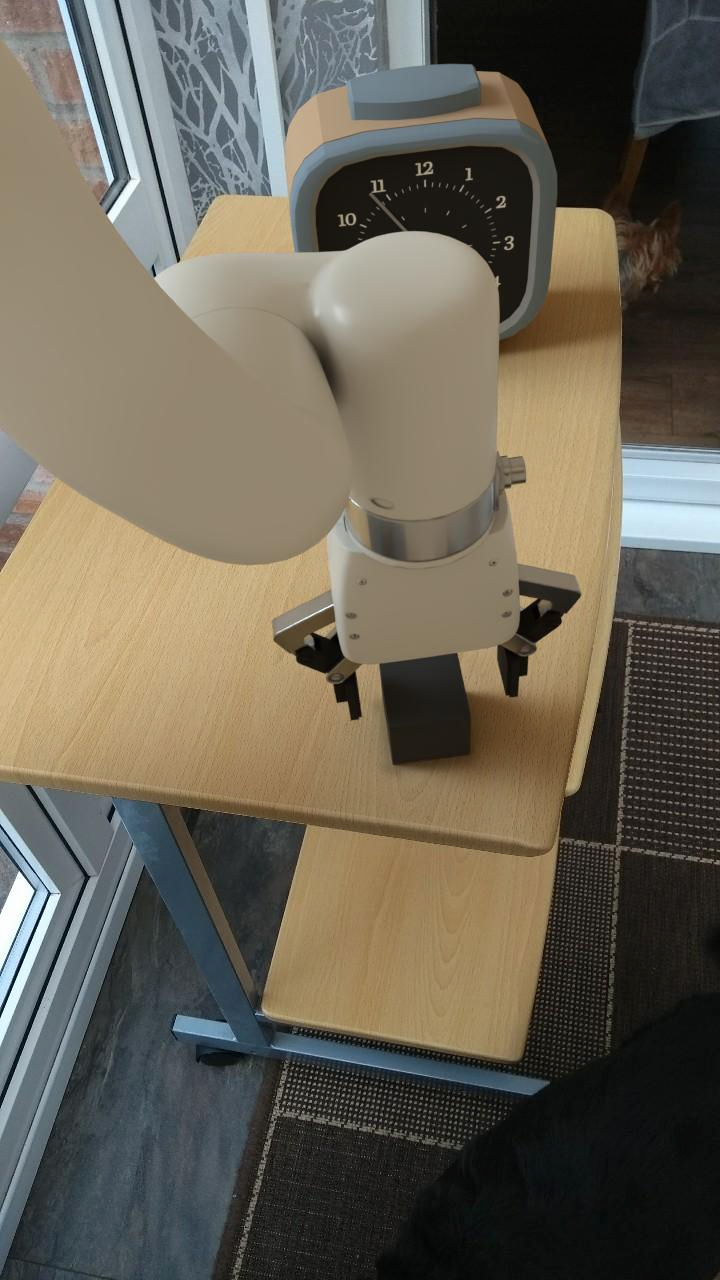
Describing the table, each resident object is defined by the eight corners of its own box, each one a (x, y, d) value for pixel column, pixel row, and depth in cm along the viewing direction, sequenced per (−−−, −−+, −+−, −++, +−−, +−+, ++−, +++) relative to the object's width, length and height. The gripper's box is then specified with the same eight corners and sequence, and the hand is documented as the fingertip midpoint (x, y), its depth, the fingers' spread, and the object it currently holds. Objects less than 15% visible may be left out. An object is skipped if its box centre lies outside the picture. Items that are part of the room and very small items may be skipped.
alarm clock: (312, 380, 89) (278, 133, 72) (305, 315, 95) (272, 72, 78) (545, 352, 89) (567, 98, 72) (524, 289, 95) (540, 40, 78)
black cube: (392, 765, 65) (389, 727, 61) (382, 700, 68) (378, 661, 64) (470, 754, 65) (471, 716, 61) (456, 690, 68) (456, 650, 65)
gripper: (575, 416, 52) (554, 623, 66) (239, 465, 52) (288, 661, 66) (614, 521, 47) (583, 720, 61) (246, 575, 47) (297, 761, 61)
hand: (430, 689), depth 63 cm, fingers open, 9 cm apart
